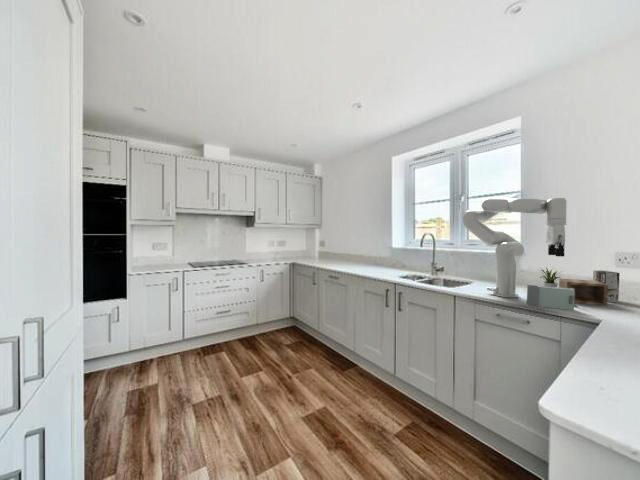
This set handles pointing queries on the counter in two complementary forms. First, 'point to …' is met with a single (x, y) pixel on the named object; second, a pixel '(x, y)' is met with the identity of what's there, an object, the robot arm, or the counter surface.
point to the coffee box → (609, 283)
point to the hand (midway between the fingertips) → (555, 255)
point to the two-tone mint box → (550, 297)
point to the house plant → (549, 279)
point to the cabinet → (586, 291)
